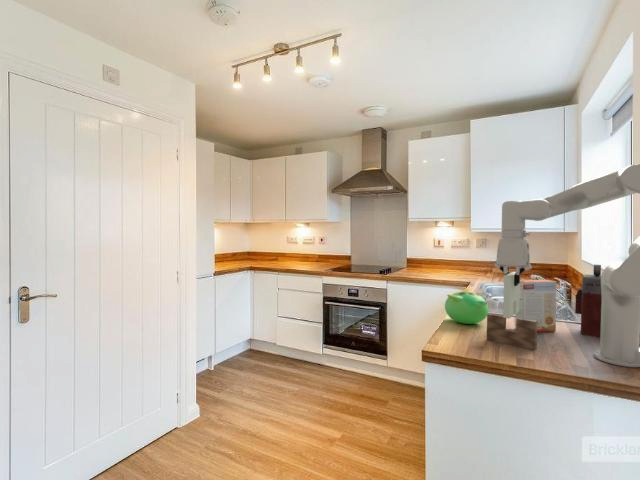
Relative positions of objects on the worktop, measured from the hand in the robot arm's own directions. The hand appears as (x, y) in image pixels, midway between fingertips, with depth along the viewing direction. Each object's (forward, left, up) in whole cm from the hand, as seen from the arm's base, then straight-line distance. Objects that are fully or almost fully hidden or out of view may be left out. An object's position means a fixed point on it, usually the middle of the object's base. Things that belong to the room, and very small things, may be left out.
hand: (512, 284), depth 126 cm
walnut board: (0, 0, -22) cm, 22 cm away
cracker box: (-3, -25, -22) cm, 34 cm away
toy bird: (+22, -16, -22) cm, 35 cm away
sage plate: (0, 0, -11) cm, 11 cm away
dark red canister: (-21, -35, -22) cm, 47 cm away
